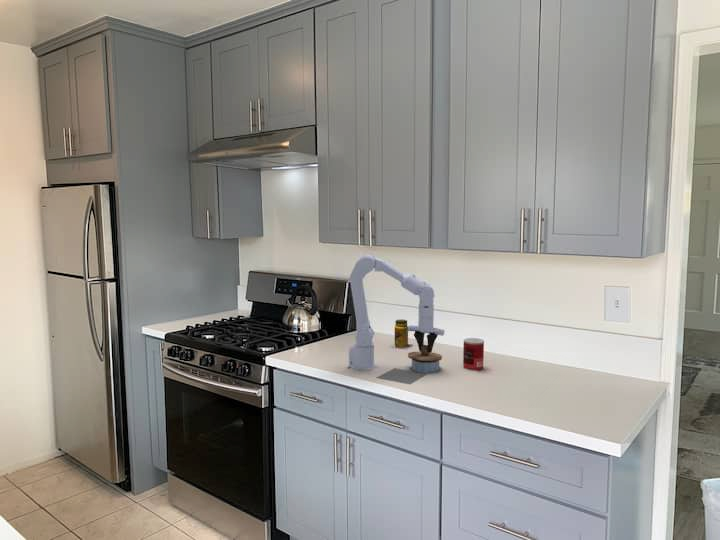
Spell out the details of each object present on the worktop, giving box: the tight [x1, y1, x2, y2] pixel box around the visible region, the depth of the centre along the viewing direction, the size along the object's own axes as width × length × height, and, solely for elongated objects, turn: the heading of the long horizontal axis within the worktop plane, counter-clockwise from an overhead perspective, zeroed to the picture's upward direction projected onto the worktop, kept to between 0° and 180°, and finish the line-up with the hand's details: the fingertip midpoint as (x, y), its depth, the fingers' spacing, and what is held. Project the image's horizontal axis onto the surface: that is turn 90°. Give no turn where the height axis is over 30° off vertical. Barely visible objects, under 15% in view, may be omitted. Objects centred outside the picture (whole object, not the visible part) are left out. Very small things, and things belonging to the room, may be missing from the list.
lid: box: [407, 344, 443, 361], centre depth 210 cm, size 13×13×5 cm
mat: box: [376, 367, 428, 385], centre depth 202 cm, size 14×14×1 cm
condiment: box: [394, 319, 414, 350], centre depth 246 cm, size 7×8×12 cm
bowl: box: [411, 359, 440, 373], centre depth 211 cm, size 10×10×4 cm
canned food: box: [462, 337, 485, 371], centre depth 213 cm, size 8×8×11 cm
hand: (425, 351), depth 211 cm, fingers closed on lid, 3 cm apart
